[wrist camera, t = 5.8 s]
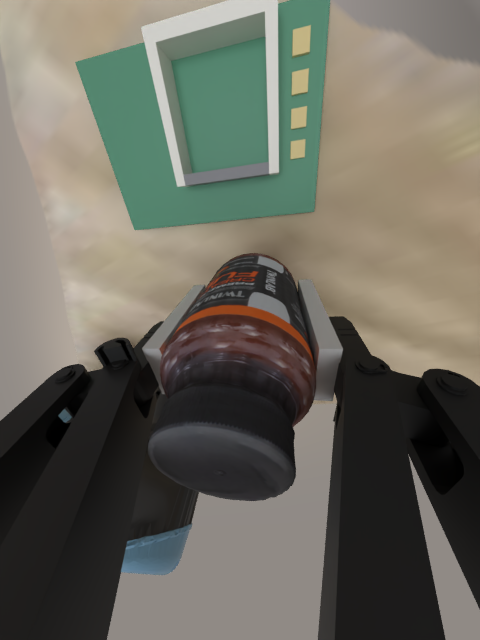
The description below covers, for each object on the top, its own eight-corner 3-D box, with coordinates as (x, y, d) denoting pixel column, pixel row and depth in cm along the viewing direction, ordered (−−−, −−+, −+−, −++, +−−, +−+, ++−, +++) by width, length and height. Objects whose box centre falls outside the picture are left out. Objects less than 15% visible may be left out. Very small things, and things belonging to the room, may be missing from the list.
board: (140, 228, 25) (121, 234, 22) (86, 69, 18) (47, 44, 15) (312, 210, 21) (318, 214, 18) (327, 2, 14) (341, -49, 11)
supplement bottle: (257, 229, 13) (216, 347, 3) (312, 297, 14) (394, 502, 5) (196, 288, 15) (71, 448, 6) (249, 338, 17) (223, 524, 8)
